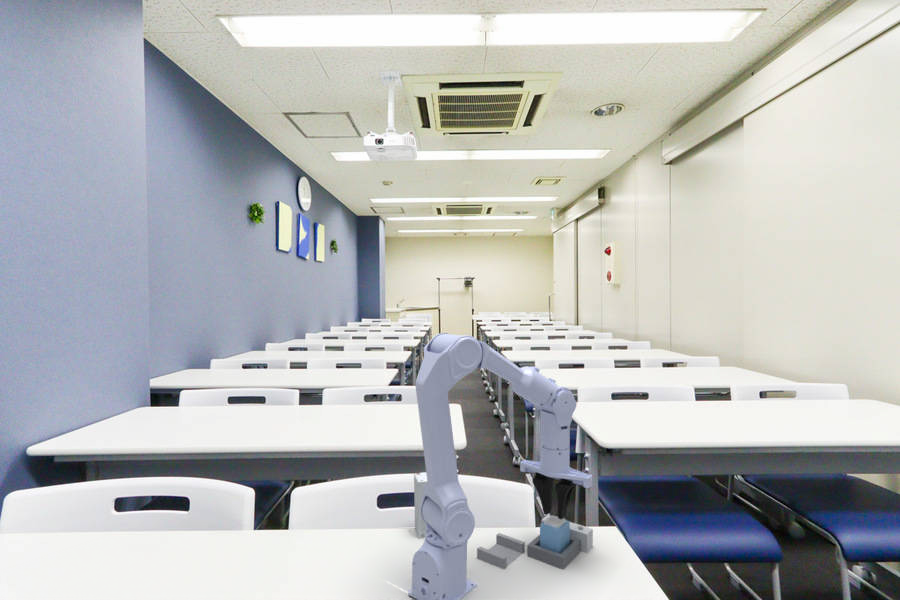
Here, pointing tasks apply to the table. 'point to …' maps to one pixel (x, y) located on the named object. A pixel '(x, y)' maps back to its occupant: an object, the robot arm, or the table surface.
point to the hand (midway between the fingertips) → (554, 515)
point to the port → (578, 542)
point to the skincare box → (419, 503)
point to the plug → (555, 534)
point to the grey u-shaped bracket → (502, 551)
